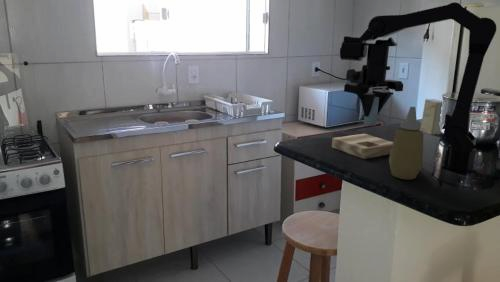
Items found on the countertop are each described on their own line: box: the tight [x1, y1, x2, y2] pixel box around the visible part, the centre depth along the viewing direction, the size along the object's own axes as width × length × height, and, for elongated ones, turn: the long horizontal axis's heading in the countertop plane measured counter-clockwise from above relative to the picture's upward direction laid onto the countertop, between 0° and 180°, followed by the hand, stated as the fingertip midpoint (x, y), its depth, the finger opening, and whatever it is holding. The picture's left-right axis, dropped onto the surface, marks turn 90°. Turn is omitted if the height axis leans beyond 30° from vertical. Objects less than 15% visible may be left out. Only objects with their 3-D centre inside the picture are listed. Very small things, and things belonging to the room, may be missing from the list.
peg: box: [363, 97, 379, 127], centre depth 122 cm, size 4×4×8 cm
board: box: [331, 133, 393, 160], centre depth 129 cm, size 14×14×3 cm
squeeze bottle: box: [388, 106, 424, 181], centre depth 104 cm, size 8×8×18 cm
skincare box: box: [419, 98, 443, 136], centre depth 153 cm, size 6×4×12 cm
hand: (371, 115), depth 122 cm, fingers closed on peg, 3 cm apart
